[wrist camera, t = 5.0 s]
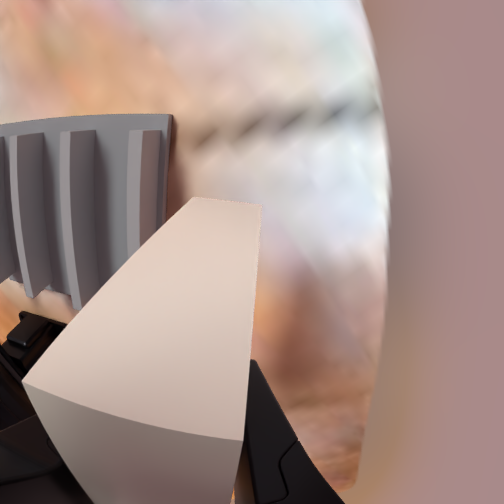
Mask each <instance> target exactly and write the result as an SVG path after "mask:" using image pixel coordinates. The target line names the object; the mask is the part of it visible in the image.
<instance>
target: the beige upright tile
mask: <svg viewBox="0 0 504 504" xmlns="http://www.w3.org/2000/svg"><path fill="white" fill-rule="evenodd" d="M261 215H262V205H259V204H251V203H244V202H235V201H227V200H219V199H210V198H201V197H193V198H192V199H190V200H189V201H188V202H187V203H186V204H185V205H184V206H183V207H182V208H181V209H180V210H179V211H178V212H176V213H175V214H174V215H173V216H172V217H171V218H170V219H169V220H168V221H167V222H166V223H165V224H164V225H163V226H162V227H161V228H160V229H159V230H158V231H157V232H156V233H155V234H154V235H152V236H151V237H150V238H149V239H148V240H147V241H146V242H145V243H144V244H143V245H142V246H141V247H140V248H139V249H138V250H137V251H136V252H135V253H134V254H133V255H132V256H131V257H130V258H129V259H128V260H127V261H126V263H125V264H124V265H123V266H122V267H121V268H120V269H119V270H118V271H117V272H116V273H115V274H114V275H113V276H112V277H111V278H110V279H109V280H108V281H107V282H106V283H105V284H104V285H103V287H102V288H101V289H100V290H99V291H98V292H97V293H96V294H95V295H94V296H93V297H92V298H91V300H90V301H89V302H88V303H87V304H86V305H85V306H84V307H83V308H82V309H81V311H80V312H79V313H78V314H77V315H76V316H75V317H74V318H73V320H72V321H71V322H70V323H69V324H68V325H67V326H66V328H65V329H64V330H63V331H62V332H61V333H60V335H59V336H58V337H57V338H56V339H55V340H54V342H53V343H52V344H51V345H50V346H49V348H48V349H47V350H46V351H45V352H44V354H43V355H42V356H41V357H40V358H39V360H38V361H37V362H36V363H35V365H34V366H33V367H32V368H31V370H30V371H29V372H28V373H27V375H26V376H25V377H24V378H23V380H22V384H23V386H24V388H25V390H26V392H27V395H28V397H29V399H30V401H31V403H32V405H33V407H34V409H35V411H36V413H37V415H38V417H39V419H40V421H41V423H42V424H43V426H44V428H45V430H46V432H47V433H48V435H49V437H50V439H51V440H52V442H53V444H54V446H55V447H56V449H57V450H58V452H59V454H60V455H61V457H62V459H63V460H64V462H65V463H66V465H67V466H68V468H69V469H70V471H71V472H72V474H73V475H74V477H75V478H76V480H77V481H78V482H79V484H80V485H81V487H82V488H83V489H84V491H85V492H86V493H87V495H88V496H89V497H90V499H91V500H92V501H93V503H94V504H230V502H231V497H232V493H233V488H234V483H235V478H236V474H237V469H238V464H239V459H240V454H241V449H242V444H243V437H244V425H245V414H246V402H247V390H248V379H249V367H250V354H251V342H252V330H253V318H254V305H255V293H256V280H257V267H258V255H259V242H260V229H261Z"/></svg>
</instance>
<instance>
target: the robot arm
mask: <svg viewBox="0 0 504 504" xmlns="http://www.w3.org/2000/svg"><path fill="white" fill-rule="evenodd" d="M19 318H20V321H21V322H20V323H19V324H18V325H17V326H16V327H15V328H14V329H13V330H12V331H11V332H10V333H9V334H8V335H7V340H6V341H5V342H4V343H3V344H2V345H1V344H0V504H94V503H93V501H92V500H91V499H90V497H89V496H88V495H87V493H86V492H85V491H84V489H83V488H82V487H81V485H80V484H79V482H78V481H77V480H76V478H75V477H74V475H73V474H72V472H71V471H70V469H69V468H68V466H67V465H66V463H65V462H64V460H63V459H62V457H61V455H60V454H59V452H58V450H57V449H56V447H55V446H54V444H53V442H52V440H51V439H50V437H49V435H48V433H47V432H46V430H45V428H44V426H43V424H42V423H41V421H40V419H39V417H38V415H37V413H36V411H35V409H34V407H33V405H32V403H31V401H30V399H29V397H28V395H27V392H26V390H25V388H24V386H23V384H22V380H23V378H24V377H25V376H26V375H27V373H28V372H29V371H30V370H31V368H32V367H33V366H34V365H35V363H36V362H37V361H38V360H39V358H40V357H41V356H42V355H43V354H44V352H45V351H46V350H47V349H48V348H49V346H50V345H51V344H52V343H53V342H54V340H55V339H56V338H57V337H58V336H59V335H60V333H61V332H62V331H63V330H64V329H65V328H66V326H67V325H66V324H65V323H61V322H58V321H54V320H51V319H48V318H44V317H41V316H38V315H34V314H31V313H28V312H25V311H21V312H20V313H19ZM234 494H235V504H345V503H344V502H343V501H342V499H341V498H340V497H339V496H338V495H337V493H336V492H335V491H334V490H333V489H332V487H331V486H330V485H329V484H328V482H327V481H326V480H325V479H324V478H323V476H322V475H321V474H320V472H319V471H318V470H317V468H316V467H315V466H314V464H313V463H312V461H311V460H310V458H309V456H308V455H307V453H306V452H305V450H304V448H303V446H302V445H301V443H300V441H298V438H297V436H296V434H295V432H294V431H293V429H292V427H291V425H290V423H289V422H288V420H287V418H286V416H285V414H284V412H283V411H282V409H281V407H280V405H279V403H278V401H277V400H276V398H275V396H274V394H273V392H272V390H271V388H270V387H269V385H268V383H267V381H266V379H265V377H264V375H263V373H262V371H261V369H260V368H259V366H258V364H257V362H256V361H255V360H252V359H250V367H249V379H248V390H247V402H246V414H245V425H244V437H243V444H242V449H241V454H240V459H239V464H238V469H237V474H236V478H235V483H234Z"/></svg>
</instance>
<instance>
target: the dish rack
mask: <svg viewBox="0 0 504 504" xmlns="http://www.w3.org/2000/svg"><path fill="white" fill-rule="evenodd" d="M171 126H172V115H171V114H107V115H86V116H71V117H59V118H48V119H39V120H31V121H23V122H16V123H9V124H2V125H0V283H2V282H3V281H4V280H6V279H7V278H8V277H9V278H10V280H13V281H17V282H20V283H24V287H25V292H26V296H27V297H31V298H34V297H36V296H37V295H38V294H39V293H40V292H41V291H42V290H44V289H47V290H51V291H56V292H60V293H64V294H68V295H71V299H72V304H73V309H76V310H80V311H81V309H82V308H83V307H84V306H85V305H86V304H87V303H88V302H89V301H90V300H91V298H92V297H93V296H94V295H95V294H96V293H97V292H98V291H99V290H100V289H101V288H102V287H103V285H104V284H105V283H106V282H107V281H108V280H109V279H110V278H111V277H112V276H113V275H114V274H115V273H116V272H117V271H118V270H119V269H120V268H121V267H122V266H123V265H124V264H125V263H126V261H127V260H128V259H129V258H130V257H131V256H132V255H133V254H134V253H135V252H136V251H137V250H138V249H139V248H140V247H141V246H142V245H143V244H144V243H145V242H146V241H147V240H148V239H149V238H150V237H151V236H152V235H154V234H155V233H156V232H157V231H158V230H159V229H160V228H161V227H162V226H163V225H164V224H165V223H166V204H167V182H168V165H169V150H170V138H171Z"/></svg>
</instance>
